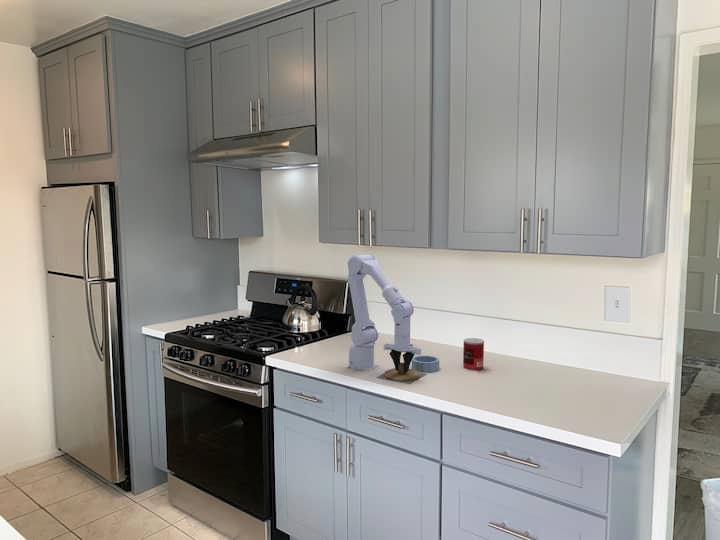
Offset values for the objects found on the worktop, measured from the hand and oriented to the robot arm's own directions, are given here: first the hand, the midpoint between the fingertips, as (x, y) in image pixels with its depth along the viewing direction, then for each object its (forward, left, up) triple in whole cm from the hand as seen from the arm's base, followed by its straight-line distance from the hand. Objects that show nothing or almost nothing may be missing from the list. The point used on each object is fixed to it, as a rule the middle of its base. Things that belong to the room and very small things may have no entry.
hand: (402, 371), depth 202 cm
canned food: (+18, +25, -2) cm, 31 cm away
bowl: (+3, +13, -2) cm, 14 cm away
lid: (0, 0, -2) cm, 2 cm away
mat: (0, 0, -2) cm, 2 cm away
